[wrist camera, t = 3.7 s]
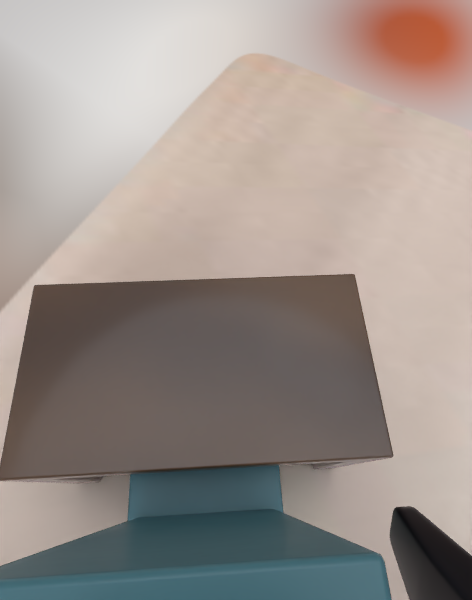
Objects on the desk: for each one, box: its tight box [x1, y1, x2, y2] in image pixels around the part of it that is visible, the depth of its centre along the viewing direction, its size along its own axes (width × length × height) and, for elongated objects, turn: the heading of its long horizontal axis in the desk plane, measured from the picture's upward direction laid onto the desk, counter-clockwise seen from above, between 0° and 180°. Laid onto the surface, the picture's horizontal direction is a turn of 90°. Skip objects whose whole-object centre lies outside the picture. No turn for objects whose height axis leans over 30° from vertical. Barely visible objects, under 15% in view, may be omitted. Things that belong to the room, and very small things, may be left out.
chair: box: [0, 466, 391, 600], centre depth 11 cm, size 5×5×14 cm
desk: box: [0, 274, 393, 483], centre depth 15 cm, size 6×11×6 cm, turn 93°
